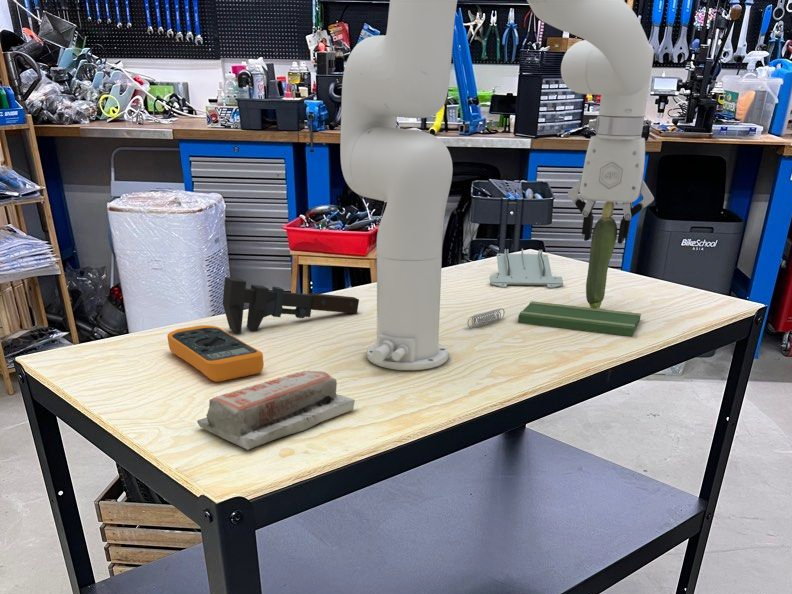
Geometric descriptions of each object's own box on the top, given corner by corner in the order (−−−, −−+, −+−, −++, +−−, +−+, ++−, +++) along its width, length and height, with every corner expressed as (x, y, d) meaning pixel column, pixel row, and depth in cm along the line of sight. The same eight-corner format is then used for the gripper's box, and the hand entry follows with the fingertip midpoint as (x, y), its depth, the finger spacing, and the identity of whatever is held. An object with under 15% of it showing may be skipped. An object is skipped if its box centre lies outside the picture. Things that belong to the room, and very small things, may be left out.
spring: (471, 330, 137) (472, 318, 135) (462, 327, 138) (463, 316, 137) (508, 319, 142) (509, 308, 141) (499, 317, 144) (500, 306, 143)
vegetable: (577, 306, 151) (592, 193, 140) (596, 304, 152) (612, 191, 142) (591, 312, 147) (607, 196, 137) (610, 310, 149) (628, 195, 138)
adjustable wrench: (353, 339, 146) (226, 332, 131) (346, 336, 148) (220, 328, 133) (361, 293, 142) (231, 280, 128) (353, 290, 144) (225, 276, 130)
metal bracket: (487, 243, 171) (557, 244, 170) (485, 268, 175) (553, 269, 175) (491, 278, 161) (565, 279, 161) (489, 303, 165) (560, 305, 165)
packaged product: (244, 414, 91) (192, 392, 96) (248, 453, 93) (197, 429, 99) (355, 375, 102) (303, 358, 108) (356, 410, 105) (305, 391, 110)
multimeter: (215, 342, 129) (213, 321, 127) (267, 374, 116) (265, 351, 114) (165, 351, 124) (161, 330, 122) (212, 385, 112) (210, 362, 110)
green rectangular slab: (632, 336, 135) (633, 327, 134) (517, 322, 141) (518, 314, 140) (639, 321, 143) (641, 312, 142) (531, 308, 149) (531, 300, 148)
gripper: (564, 127, 133) (552, 240, 143) (669, 132, 128) (649, 249, 138) (573, 124, 139) (561, 233, 149) (674, 129, 134) (654, 241, 144)
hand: (604, 239), depth 143 cm, fingers open, 5 cm apart
